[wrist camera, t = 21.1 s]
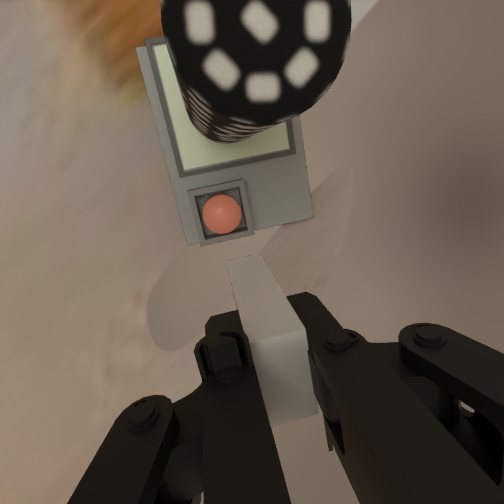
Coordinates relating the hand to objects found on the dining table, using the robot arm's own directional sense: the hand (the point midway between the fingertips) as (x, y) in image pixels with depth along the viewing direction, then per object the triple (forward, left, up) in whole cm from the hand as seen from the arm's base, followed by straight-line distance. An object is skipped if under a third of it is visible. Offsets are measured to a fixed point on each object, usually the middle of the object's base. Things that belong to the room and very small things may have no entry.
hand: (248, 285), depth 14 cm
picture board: (-7, +3, -24) cm, 25 cm away
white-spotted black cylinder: (-11, +3, -23) cm, 25 cm away
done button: (0, 0, -22) cm, 22 cm away
